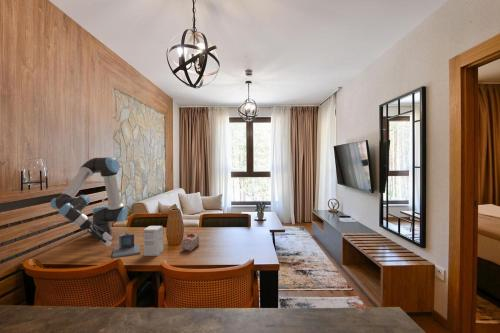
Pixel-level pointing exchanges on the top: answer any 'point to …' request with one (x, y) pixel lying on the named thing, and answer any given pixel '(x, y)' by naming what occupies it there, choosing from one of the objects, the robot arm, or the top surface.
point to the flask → (126, 241)
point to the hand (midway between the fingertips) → (110, 242)
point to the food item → (190, 242)
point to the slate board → (126, 251)
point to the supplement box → (153, 240)
